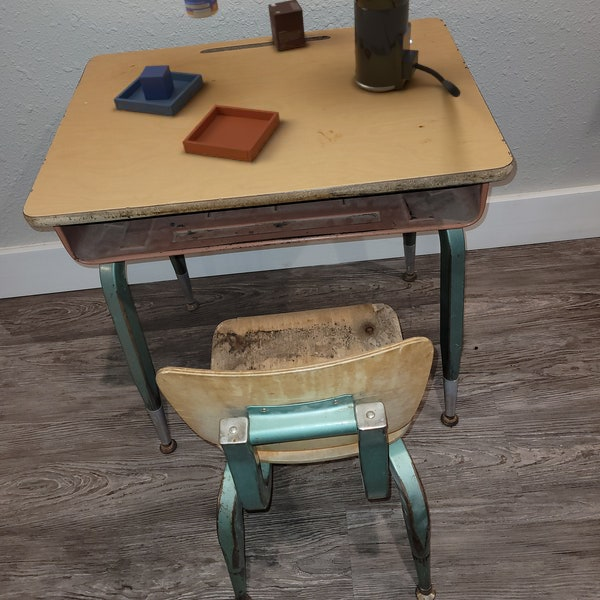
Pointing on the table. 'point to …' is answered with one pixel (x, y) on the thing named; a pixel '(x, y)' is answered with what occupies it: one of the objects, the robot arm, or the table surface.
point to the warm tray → (232, 132)
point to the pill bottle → (201, 8)
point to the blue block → (157, 82)
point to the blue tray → (182, 92)
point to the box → (287, 24)
